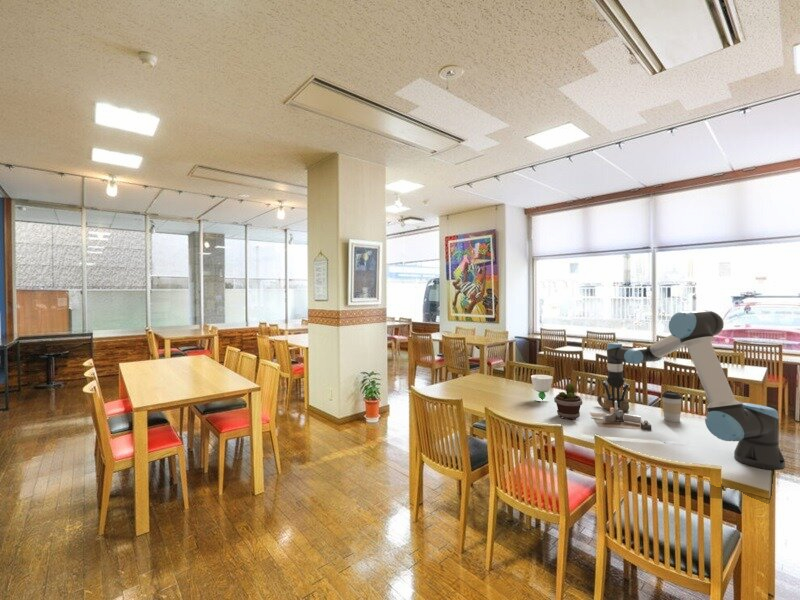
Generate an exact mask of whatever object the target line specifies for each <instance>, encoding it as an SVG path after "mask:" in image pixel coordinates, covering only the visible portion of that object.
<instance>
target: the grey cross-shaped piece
mask: <svg viewBox="0 0 800 600" xmlns="http://www.w3.org/2000/svg"><path fill="white" fill-rule="evenodd" d="M606 414H607V415H603V422H610V421H616V422H623V421H628V422H634V423H640V424H641V420H642V416H640V415H637V414H635V415H634V414H629V413H624V412H623V410H619V409H614V408H610V411H609V413H606ZM623 415H624V418H623ZM636 415H637V416H636Z"/></svg>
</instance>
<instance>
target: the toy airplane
mask: <svg viewBox="0 0 800 600" xmlns="http://www.w3.org/2000/svg"><path fill="white" fill-rule="evenodd" d="M589 414H590V416H591V419H593V420H594V422H595V424H596V425H597V427H599V428H601V427H602V428H610V429H612V428H614V429H629V430H644V431H652V424H651V423H650V422H649V421H648V420H647V419H645V420H642V419H641V424H640V423H634V422H628V421H623V422H616V421H610V422H603V415H607V414H608V413H603V412H602V413H601V412H589ZM635 415H636V416H638V415H637V414H635ZM623 418H624V414H623Z"/></svg>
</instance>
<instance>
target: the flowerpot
mask: <svg viewBox="0 0 800 600" xmlns="http://www.w3.org/2000/svg"><path fill="white" fill-rule="evenodd" d="M576 392H577V391H576V386H575V384H573V383H572V382H568V383H566V384H565V386H564V391H563V390H561V391H559V392H558V394H556V395H555V397H554V398H553V399H554V403H556V408H557V410H556V412H557V415H558V416H559V417H560V418H561V417H563V418H562V419H564V418H568V419H567V420H569V419H571V420H576V418H578V417H580V416H581V412H580V409H581V406H582V405H583V399H582V398H581V397H580V396H579V395H576Z"/></svg>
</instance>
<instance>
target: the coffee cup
mask: <svg viewBox="0 0 800 600" xmlns="http://www.w3.org/2000/svg"><path fill="white" fill-rule="evenodd" d="M661 399H662V400H661V403H662V412H663V419H664V420H665V421H668V422H673V423H679V422H681V414H682V412H681V411H682V399H683V397H682V395H680V393H678V392H675V391H671V390H667V391H664V392H663V393H661Z"/></svg>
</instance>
